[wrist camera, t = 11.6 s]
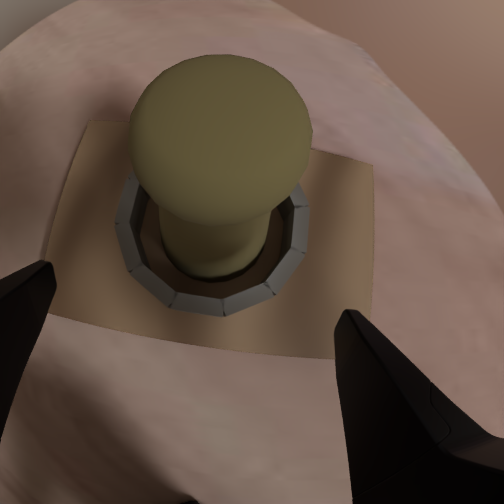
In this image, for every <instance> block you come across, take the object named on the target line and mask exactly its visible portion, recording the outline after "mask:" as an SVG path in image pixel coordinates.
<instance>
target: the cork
mask: <svg viewBox="0 0 504 504" xmlns="http://www.w3.org/2000/svg"><path fill="white" fill-rule="evenodd" d="M312 133H313V130H312V126H311V122H310V118H309V114H308V110H307V107H306V105H305V103H304V101H303V99H302V98H301V96H300V95H299V93H298V92H297V90H296V89H295V87H294V86H293V85H292V83H291V82H290V81H289V80H287V79H286V78H285V77H284V76H283V75H281V74H280V73H279V72H278V71H276V70H275V69H274V68H272V67H269V66H267V65H265V64H263V63H261V62H258V61H256V60H254V59H250V58H245V57H240V56H235V55H204V56H200V57H196V58H192V59H188V60H184V61H182V62H180V63H178V64H176V65H174V66H172V67H170V68H168V69H166V70H164V71H163V72H162V73H161V74H160V75H159V76H157V77H156V78H155V79H154V80H153V81H152V82H151V83H150V84H149V85H148V86H147V87H146V89H145V90H144V92H143V93H142V95H141V96H140V98H139V100H138V102H137V104H136V106H135V108H134V110H133V112H132V114H131V116H130V125H129V134H128V153H129V156H130V160H131V163H132V166H133V170H134V173H135V175H136V177H137V179H138V181H139V183H140V184H141V186H142V187H143V188H144V189H145V191H146V192H147V193H148V194H149V196H150V197H151V198H152V199H153V200H154V202H155V203H156V204H158V206H159V221H160V234H161V242H162V245H163V248H164V250H165V253H166V256H167V257H168V259H169V260H170V261H171V262H172V264H173V265H174V266H175V267H176V268H177V270H179V271H180V272H182V273H184V274H185V275H187V276H188V277H190V278H192V279H195V280H199V281H203V282H207V283H216V282H227V281H229V280H232V279H234V278H237V277H239V276H241V275H243V274H244V273H245V272H247V271H248V270H249V269H250V268H251V267H252V266H253V265H255V264H256V262H257V260H258V259H259V257H260V255H261V253H262V252H263V250H264V246H265V241H266V236H267V231H268V226H269V220H270V215H271V210H273V209H274V208H275V207H276V206H277V205H279V204H280V203H281V202H282V201H284V200H285V199H286V198H287V197H288V196H290V194H291V193H292V191H293V190H294V188H295V187H296V185H297V183H298V182H299V180H300V178H301V177H302V175H303V173H304V171H305V170H306V168H307V166H308V163H309V156H310V149H311V142H312Z"/></svg>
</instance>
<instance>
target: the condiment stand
mask: <svg viewBox="0 0 504 504" xmlns="http://www.w3.org/2000/svg"><path fill="white" fill-rule="evenodd" d="M129 125H130V122H121V121H98V120H90V121H89V123H88V125H87V128H86V130H85V132H84V135H83V137H82V140H81V142H80V144H79V147H78V150H77V152H76V155H75V157H74V160H73V163H72V165H71V168H70V171H69V174H68V176H67V179H66V182H65V185H64V188H63V191H62V195H61V198H60V201H59V204H58V208H57V211H56V215H55V218H54V222H53V225H52V229H51V233H50V237H49V241H48V245H47V250H46V254H45V259H44V260H45V261H49V262H51V263H52V264H53V267H54V272H55V277H56V281H57V289H56V292H55V295H54V297H53V300H52V303H51V305H50V308H49V311H48V313H50V314H54V315H57V316H61V317H65V318H68V319H72V320H76V321H80V322H84V323H88V324H92V325H96V326H100V327H104V328H108V329H113V330H117V331H122V332H126V333H131V334H136V335H141V336H146V337H151V338H156V339H162V340H167V341H173V342H179V343H185V344H191V345H197V346H204V347H211V348H218V349H225V350H233V351H241V352H249V353H258V354H268V355H279V356H290V357H303V358H318V359H335V348H334V329H335V326H336V324H337V322H338V320H339V318H340V316H341V314H342V312H343V311H344V310H345V309H355V310H358V311H359V312H360V313H361V314H362V315H363V316H365V317H366V318H367V319H368V320H369V321H370V313H371V300H372V285H373V265H374V179H373V165H371V164H368V163H364V162H361V161H357V160H354V159H350V158H346V157H342V156H338V155H334V154H330V153H326V152H322V151H318V150H314V149H310V156H309V163H308V166H307V168H306V170H305V171H304V173H303V175H302V177H301V178H300V180H299V182H298V183H297V185H296V187H295V188H294V190H293V191H292V193H291V194H290V196H288V197H287V198H286V199H285V200H284V201H282V202H281V203H280V204H279V205H277V206H276V207H275V208H274V209H273V210H271V215H270V220H269V226H268V231H267V236H266V241H265V246H264V250H263V252H262V253H261V255H260V257H259V259H258V260H257V262H256V264H255V265H253V266H252V267H251V268H250V269H249V270H248V271H247V272H245V273H244V274H243V275H241V276H239V277H237V278H234V279H232V280H229V281H227V282H216V283H207V282H203V281H199V280H195V279H192V278H190V277H188V276H187V275H185V274H184V273H182V272H180V271H179V270H177V268H176V267H175V266H174V265H173V264H172V262H171V261H170V260H169V259H168V257H167V256H166V253H165V250H164V248H163V245H162V242H161V234H160V221H159V206H158V204H156V203H155V202H154V200H153V199H152V198H151V197H150V196H149V194H148V193H147V192H146V191H145V189H144V188H143V187H142V186H141V184H140V183H139V181H138V179H137V177H136V175H135V173H134V170H133V166H132V163H131V160H130V156H129V153H128V134H129Z"/></svg>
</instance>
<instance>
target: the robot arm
mask: <svg viewBox="0 0 504 504" xmlns="http://www.w3.org/2000/svg"><path fill="white" fill-rule="evenodd" d="M56 289H57V281H56V277H55V272H54V267H53V264H52V263H51V262H49V261H45V260H39V261H37V262H35V263H33V264H31V265H29V266H27V267H25V268H22V269H20V270H18V271H16V272H14V273H12V274H10V275H8V276H6V277H4V278H2V279H0V442H1V437H2V434H3V430H4V427H5V423H6V420H7V417H8V414H9V411H10V408H11V405H12V402H13V399H14V396H15V393H16V390H17V388H18V385H19V382H20V380H21V377H22V374H23V372H24V369H25V367H26V364H27V362H28V359H29V357H30V355H31V352H32V350H33V348H34V345H35V343H36V341H37V339H38V337H39V334H40V332H41V330H42V327H43V324H44V322H45V319H46V316H47V313H48V311H49V308H50V305H51V303H52V300H53V297H54V295H55V292H56ZM334 348H335V366H336V379H337V386H338V392H339V398H340V405H341V411H342V418H343V425H344V432H345V439H346V447H347V455H348V463H349V472H350V481H351V490H352V502H353V504H504V438H499V437H496V436H493V435H491V434H490V433H488V432H487V431H485V430H484V429H483V428H482V427H481V426H479V425H478V424H477V423H476V422H475V421H474V420H473V419H471V418H470V417H469V416H468V415H467V414H466V413H464V412H463V411H462V410H461V409H460V408H459V407H458V406H456V405H455V404H454V403H453V402H452V401H451V400H450V399H449V398H448V397H447V396H446V395H445V394H444V393H443V392H441V391H440V390H439V389H438V388H437V387H436V386H435V385H434V384H433V383H432V382H431V381H430V380H429V379H428V378H427V377H426V376H425V375H424V374H423V373H422V372H421V371H420V370H419V369H418V368H417V367H416V366H415V365H414V364H413V363H412V362H411V361H410V360H409V359H408V358H407V357H406V356H405V355H404V354H403V353H402V352H401V351H400V350H399V349H398V348H397V347H396V346H395V345H394V344H393V343H392V342H391V341H390V340H389V339H388V338H387V337H385V336H384V335H383V334H382V333H381V332H380V331H379V330H378V329H377V328H376V327H375V326H374V325H373V324H372V323H371V322H370V321H369V320H368V319H367V318H366V317H365V316H363V315H362V314H361V313H360V312H359V311H358V310H355V309H345V310H344V311H343V312H342V314H341V316H340V318H339V320H338V322H337V324H336V326H335V329H334ZM181 504H199V503H198V502H196V501H187V502H184V503H181Z"/></svg>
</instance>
